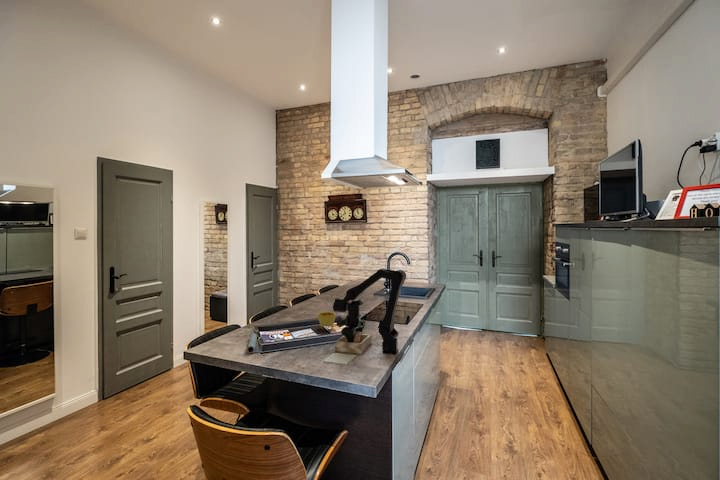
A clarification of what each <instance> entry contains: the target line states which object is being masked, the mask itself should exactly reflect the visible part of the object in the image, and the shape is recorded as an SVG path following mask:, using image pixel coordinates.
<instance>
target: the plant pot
mask: <svg viewBox="0 0 720 480" xmlns="http://www.w3.org/2000/svg"><path fill="white" fill-rule="evenodd" d="M336 316H337V315H336V312H334V311H333V312H332V311H322V312H318V314H317V320H318V321H319V326H322V327H324V326H331V325H333V324H335V320H337V319H336ZM333 326H334V325H333Z"/></svg>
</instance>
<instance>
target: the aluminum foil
mask: <svg viewBox="0 0 720 480" xmlns="http://www.w3.org/2000/svg"><path fill="white" fill-rule="evenodd" d="M257 337H258V335H257V334H256V333H254V332H253V333H251V334H250V338H249V341H248V345H247V349H246V352H247V353H249V354H253V353H255V354H256V353H260V352H261V350H260V351H259V347H260V346H256V343H257V340H258V339H257Z"/></svg>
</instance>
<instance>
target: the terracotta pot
mask: <svg viewBox="0 0 720 480" xmlns="http://www.w3.org/2000/svg"><path fill="white" fill-rule="evenodd" d="M355 334H356V335H355V339H354V342H353V343H360V336H361V332H359V331H356V333H355ZM347 342H348V341H347Z"/></svg>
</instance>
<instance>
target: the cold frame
mask: <svg viewBox="0 0 720 480" xmlns="http://www.w3.org/2000/svg"><path fill="white" fill-rule="evenodd" d="M372 337H373V336H372V334H369V333H368V334H365V333H362V334H361V336H360V343H352V342H347V338H346V337H345V336H344V335H343V334H342V336H340V337H339V338H338V339H337V340H335V341H334V351H335V352H341V353H342V352H343V353H348V354H351V353H352V354H359V355H362V354H363V353H364V352H365V351H366V350H367V349H368V347H370V346H371V344H372V341H373V340H372Z"/></svg>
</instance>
